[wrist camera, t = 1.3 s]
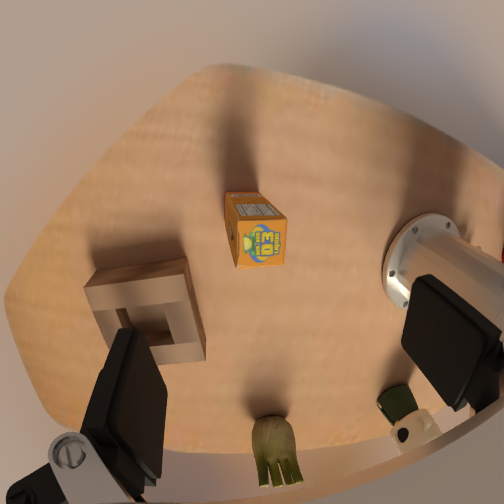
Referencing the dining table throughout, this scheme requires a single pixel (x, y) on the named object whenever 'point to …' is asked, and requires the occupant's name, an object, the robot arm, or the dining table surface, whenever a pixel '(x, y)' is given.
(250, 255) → the supplement box
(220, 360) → the dining table surface
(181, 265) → the square wooden frame
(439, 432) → the character mug
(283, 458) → the fennel bulb
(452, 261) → the robot arm
